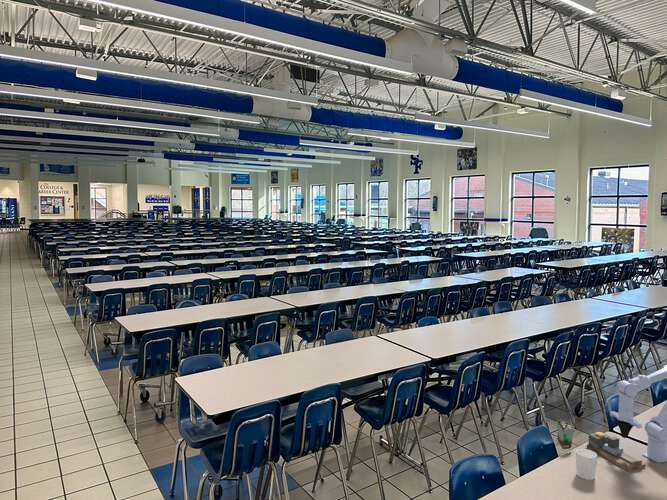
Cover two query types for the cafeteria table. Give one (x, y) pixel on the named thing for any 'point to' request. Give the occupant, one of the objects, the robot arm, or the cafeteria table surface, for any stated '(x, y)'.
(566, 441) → the food container
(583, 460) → the white cup
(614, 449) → the carriage
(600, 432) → the button
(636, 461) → the rail board
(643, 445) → the cafeteria table surface
